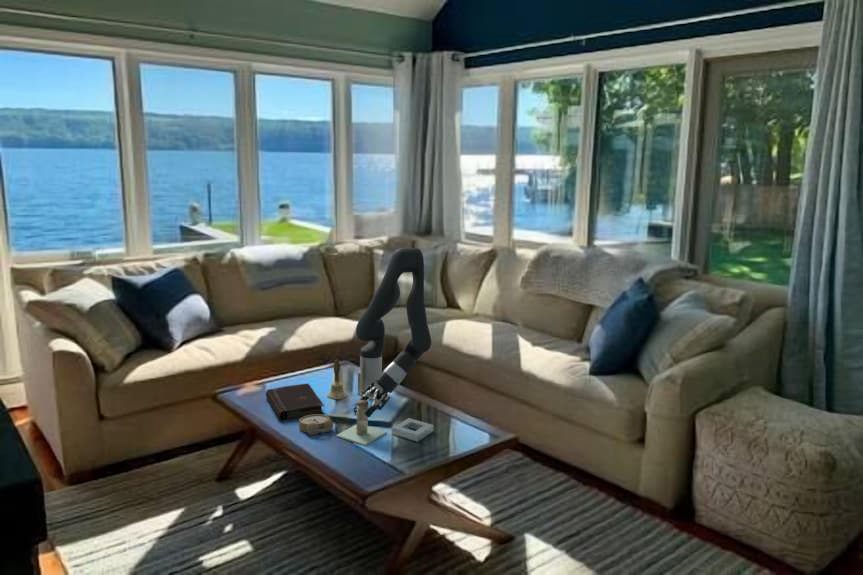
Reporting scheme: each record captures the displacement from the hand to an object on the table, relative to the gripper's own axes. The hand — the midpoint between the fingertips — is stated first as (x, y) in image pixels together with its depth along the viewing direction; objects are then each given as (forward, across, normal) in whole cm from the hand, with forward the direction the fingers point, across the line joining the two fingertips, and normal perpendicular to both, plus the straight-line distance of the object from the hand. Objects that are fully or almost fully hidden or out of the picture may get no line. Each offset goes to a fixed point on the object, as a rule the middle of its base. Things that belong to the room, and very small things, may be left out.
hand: (361, 411), depth 233 cm
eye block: (-6, +6, +19) cm, 21 cm away
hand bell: (+3, -40, +10) cm, 41 cm away
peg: (+6, 0, +6) cm, 8 cm away
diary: (+17, -35, -3) cm, 39 cm away
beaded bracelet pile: (+1, -19, +13) cm, 23 cm away
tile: (+6, 0, +6) cm, 9 cm away
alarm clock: (+16, -11, -3) cm, 20 cm away
